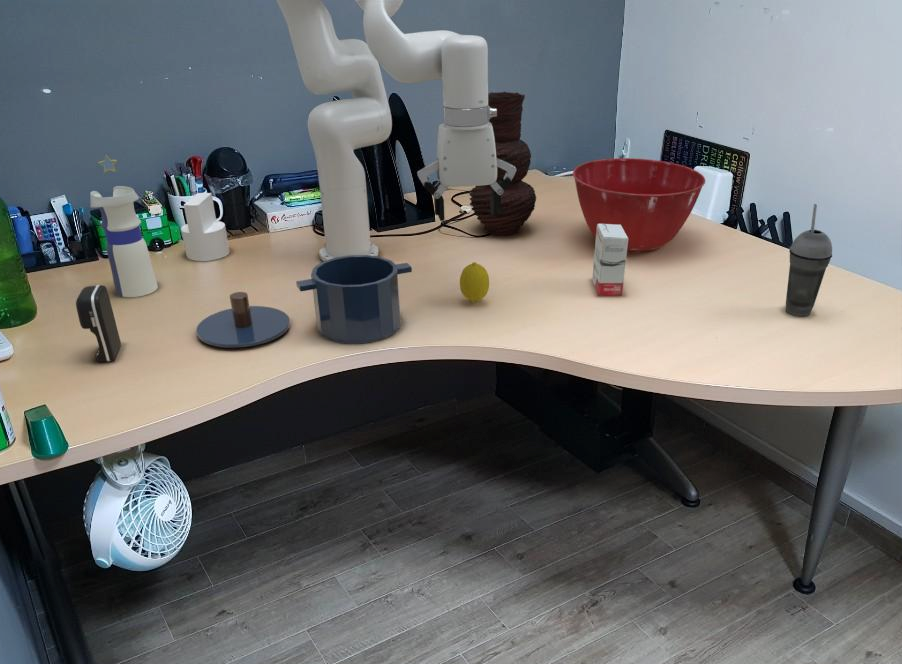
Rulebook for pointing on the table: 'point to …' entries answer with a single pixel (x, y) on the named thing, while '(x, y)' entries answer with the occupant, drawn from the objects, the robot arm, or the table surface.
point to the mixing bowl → (638, 198)
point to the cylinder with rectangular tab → (203, 230)
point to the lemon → (474, 282)
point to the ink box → (609, 259)
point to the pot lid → (242, 324)
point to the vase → (515, 152)
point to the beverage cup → (807, 269)
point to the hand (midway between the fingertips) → (468, 217)
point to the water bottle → (124, 240)
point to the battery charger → (99, 320)
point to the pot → (356, 298)
